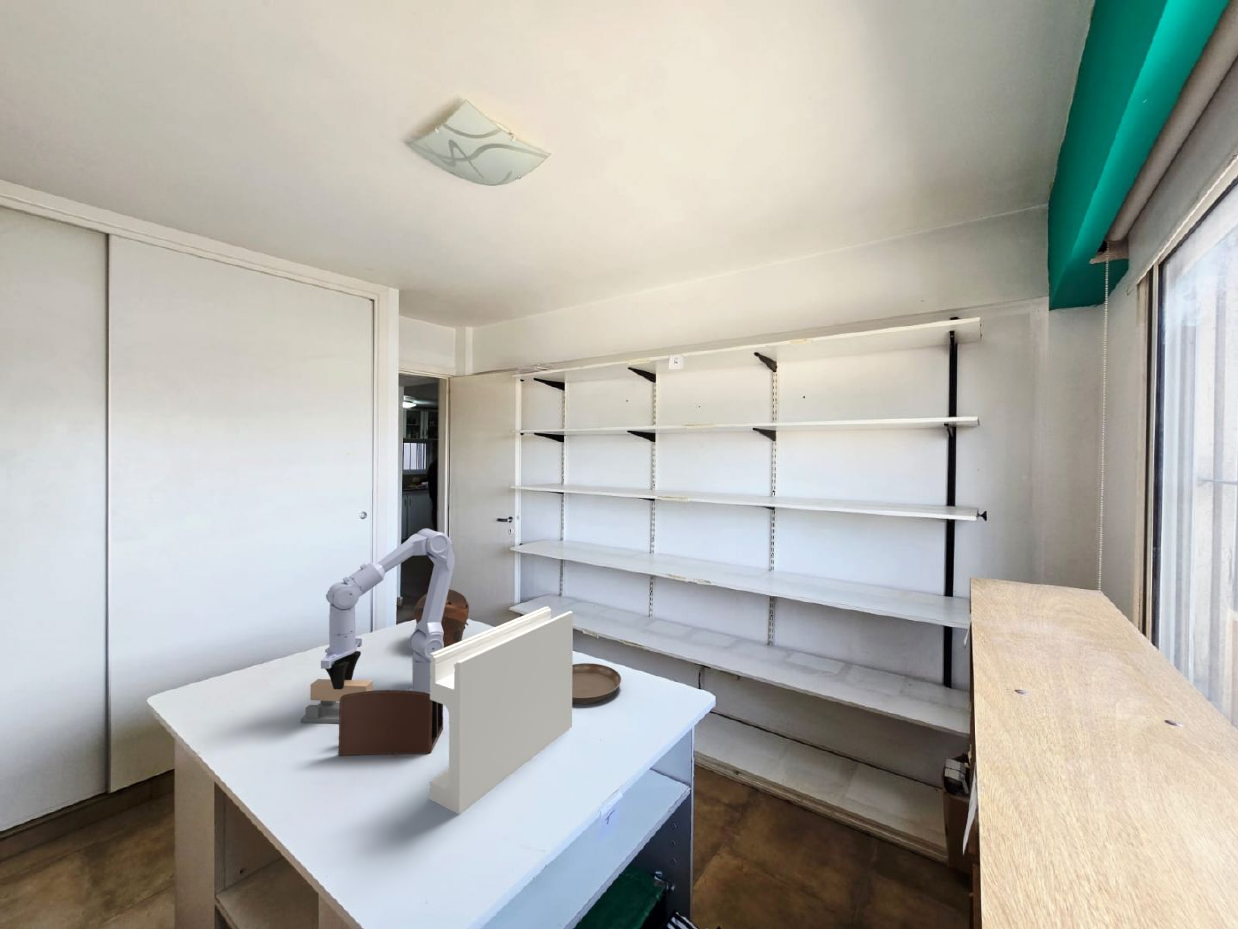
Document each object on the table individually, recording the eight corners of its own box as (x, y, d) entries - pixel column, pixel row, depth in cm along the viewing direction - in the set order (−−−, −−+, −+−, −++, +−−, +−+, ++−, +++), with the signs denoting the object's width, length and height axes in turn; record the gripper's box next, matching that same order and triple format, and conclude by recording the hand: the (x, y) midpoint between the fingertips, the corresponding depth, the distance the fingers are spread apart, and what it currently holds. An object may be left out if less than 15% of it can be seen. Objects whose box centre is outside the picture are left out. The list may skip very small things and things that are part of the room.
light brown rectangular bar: (372, 696, 129) (372, 680, 129) (366, 702, 126) (366, 686, 126) (317, 694, 129) (318, 679, 129) (310, 700, 126) (310, 684, 126)
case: (438, 662, 159) (439, 605, 159) (400, 649, 170) (400, 595, 170) (482, 646, 174) (483, 593, 174) (444, 634, 185) (445, 585, 185)
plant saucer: (588, 717, 128) (588, 704, 128) (531, 693, 141) (531, 681, 141) (635, 687, 145) (635, 675, 145) (581, 668, 157) (581, 657, 157)
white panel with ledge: (459, 814, 93) (459, 663, 92) (429, 799, 97) (430, 653, 96) (571, 726, 123) (572, 611, 122) (545, 717, 127) (546, 606, 127)
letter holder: (431, 754, 112) (431, 691, 111) (337, 757, 110) (337, 693, 110) (443, 729, 122) (443, 671, 121) (357, 732, 120) (357, 673, 120)
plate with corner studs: (382, 707, 131) (382, 694, 131) (365, 724, 123) (365, 710, 123) (321, 706, 132) (321, 692, 132) (300, 722, 124) (300, 708, 124)
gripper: (343, 621, 134) (343, 672, 135) (308, 641, 120) (308, 699, 120) (369, 622, 134) (369, 673, 134) (337, 642, 120) (337, 699, 120)
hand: (342, 685), depth 127 cm, fingers closed on light brown rectangular bar, 3 cm apart
